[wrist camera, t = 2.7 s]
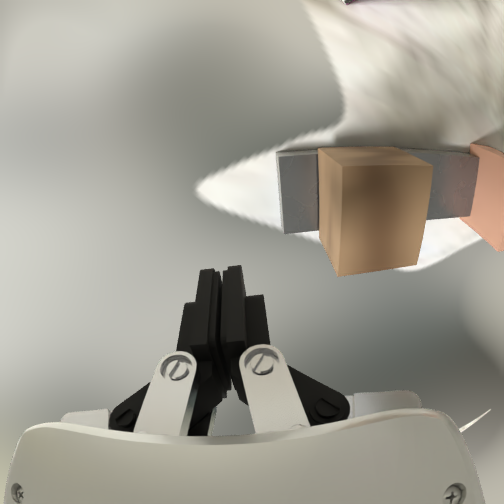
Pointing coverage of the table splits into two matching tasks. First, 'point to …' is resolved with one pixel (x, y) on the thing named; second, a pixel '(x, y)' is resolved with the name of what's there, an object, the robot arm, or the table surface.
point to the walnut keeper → (372, 207)
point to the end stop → (488, 196)
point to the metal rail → (444, 162)
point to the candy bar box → (347, 1)
